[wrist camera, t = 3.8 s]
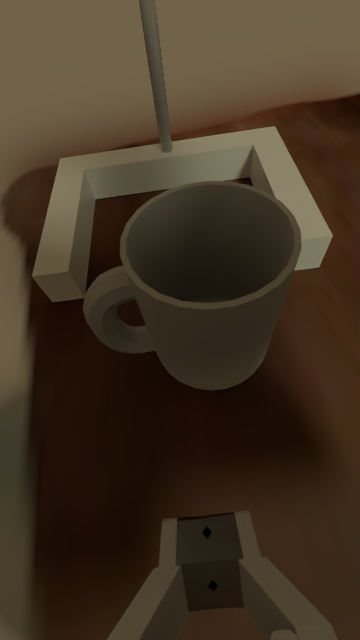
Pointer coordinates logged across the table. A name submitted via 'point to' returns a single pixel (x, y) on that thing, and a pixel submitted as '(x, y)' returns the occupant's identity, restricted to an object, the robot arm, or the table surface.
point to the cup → (200, 281)
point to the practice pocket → (164, 183)
